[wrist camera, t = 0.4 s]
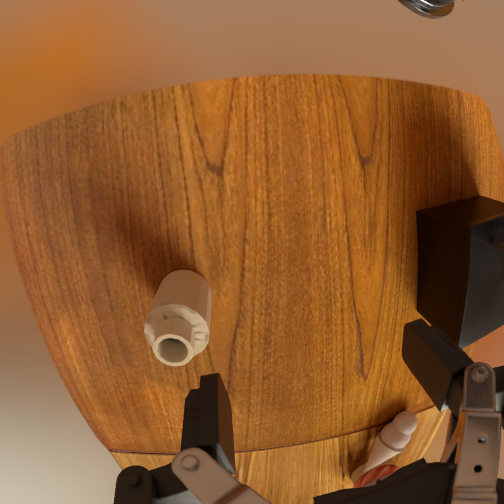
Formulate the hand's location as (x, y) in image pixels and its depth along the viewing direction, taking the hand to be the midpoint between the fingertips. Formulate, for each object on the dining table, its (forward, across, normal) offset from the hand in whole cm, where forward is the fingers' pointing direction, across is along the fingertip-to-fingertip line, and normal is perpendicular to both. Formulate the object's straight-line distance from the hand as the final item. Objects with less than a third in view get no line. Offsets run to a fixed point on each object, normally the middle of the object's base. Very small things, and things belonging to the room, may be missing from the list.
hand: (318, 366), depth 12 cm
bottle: (+20, +9, +5) cm, 22 cm away
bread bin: (+20, -24, +8) cm, 32 cm away
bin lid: (+11, -24, +8) cm, 28 cm away
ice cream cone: (+20, -15, +41) cm, 48 cm away
